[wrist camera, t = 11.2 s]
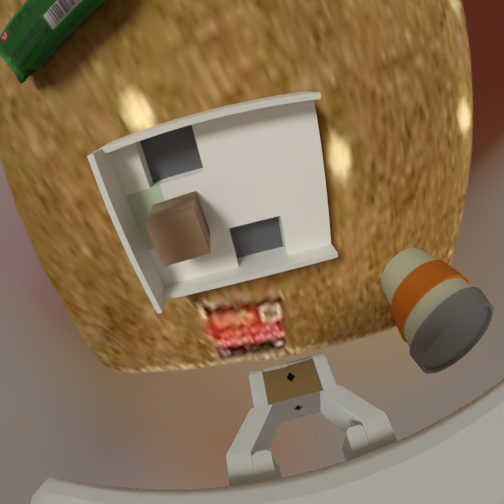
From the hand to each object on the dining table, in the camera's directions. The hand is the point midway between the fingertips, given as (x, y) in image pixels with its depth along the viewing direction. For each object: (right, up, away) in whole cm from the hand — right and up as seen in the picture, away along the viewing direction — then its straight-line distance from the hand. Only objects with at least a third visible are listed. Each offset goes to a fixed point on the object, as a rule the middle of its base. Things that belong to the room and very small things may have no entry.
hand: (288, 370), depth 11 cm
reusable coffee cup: (+22, +2, +30) cm, 37 cm away
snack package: (-21, +29, +7) cm, 36 cm away
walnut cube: (-8, +8, +18) cm, 21 cm away
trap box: (-4, +11, +20) cm, 23 cm away
